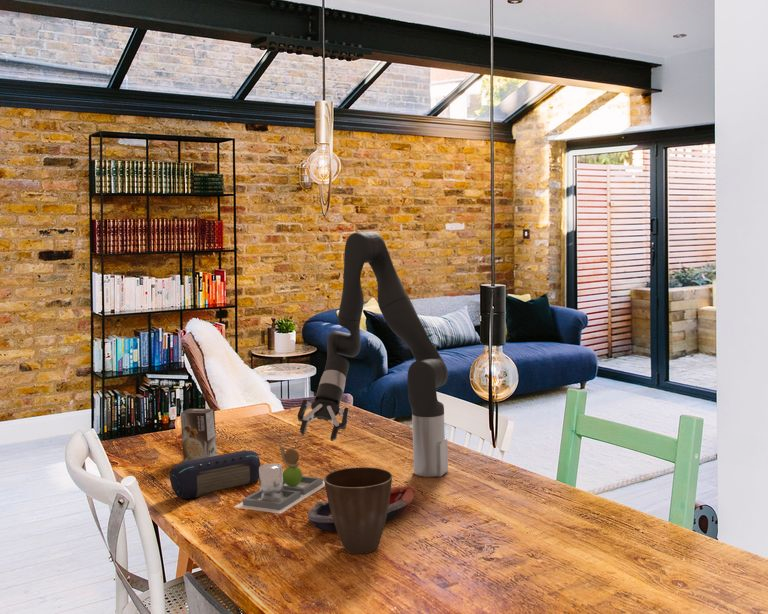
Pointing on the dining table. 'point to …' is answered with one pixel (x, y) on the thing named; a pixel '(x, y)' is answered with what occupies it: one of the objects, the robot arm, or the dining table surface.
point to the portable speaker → (214, 473)
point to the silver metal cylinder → (271, 482)
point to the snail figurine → (291, 466)
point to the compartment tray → (290, 496)
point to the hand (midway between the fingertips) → (317, 437)
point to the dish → (397, 506)
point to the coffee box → (198, 434)
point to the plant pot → (359, 506)
